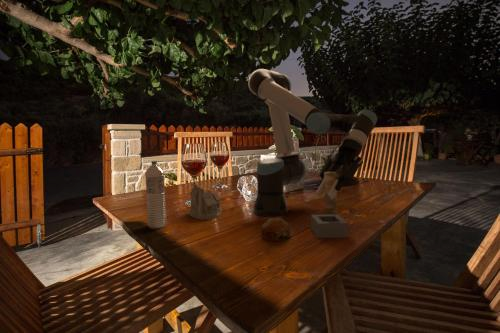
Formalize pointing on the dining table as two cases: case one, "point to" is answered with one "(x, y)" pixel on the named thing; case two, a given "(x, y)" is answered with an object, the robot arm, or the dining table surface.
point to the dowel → (328, 181)
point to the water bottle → (155, 196)
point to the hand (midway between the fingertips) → (324, 195)
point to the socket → (329, 226)
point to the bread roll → (275, 230)
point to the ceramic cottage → (204, 204)
